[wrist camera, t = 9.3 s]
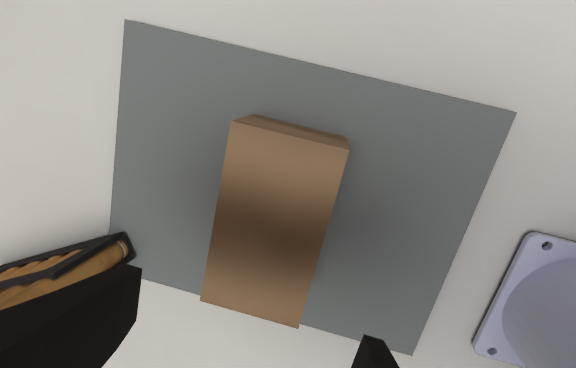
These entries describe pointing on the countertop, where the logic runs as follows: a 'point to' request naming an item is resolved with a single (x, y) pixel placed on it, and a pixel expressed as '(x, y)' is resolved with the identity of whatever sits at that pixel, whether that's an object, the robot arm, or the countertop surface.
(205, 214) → the mat
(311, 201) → the card box
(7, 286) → the ammunition clip
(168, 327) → the countertop surface
